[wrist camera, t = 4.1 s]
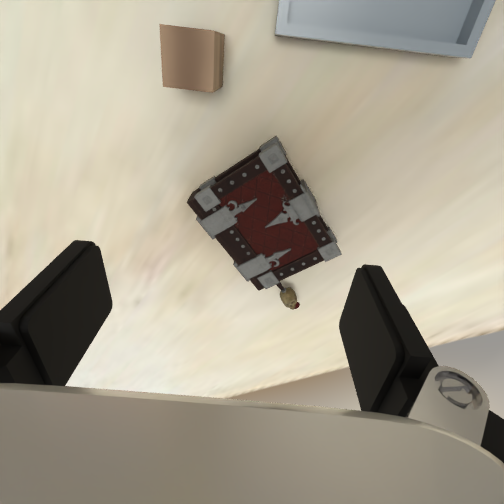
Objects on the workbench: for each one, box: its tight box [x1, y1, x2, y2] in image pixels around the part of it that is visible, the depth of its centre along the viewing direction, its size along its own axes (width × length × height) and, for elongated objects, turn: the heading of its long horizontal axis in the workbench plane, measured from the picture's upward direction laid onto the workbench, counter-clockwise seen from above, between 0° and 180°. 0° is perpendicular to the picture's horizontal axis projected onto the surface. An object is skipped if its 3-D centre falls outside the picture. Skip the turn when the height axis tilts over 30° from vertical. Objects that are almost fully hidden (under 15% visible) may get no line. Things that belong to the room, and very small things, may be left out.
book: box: [187, 136, 342, 309], centre depth 45 cm, size 15×25×5 cm, turn 33°
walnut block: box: [160, 24, 225, 93], centre depth 32 cm, size 5×5×7 cm
